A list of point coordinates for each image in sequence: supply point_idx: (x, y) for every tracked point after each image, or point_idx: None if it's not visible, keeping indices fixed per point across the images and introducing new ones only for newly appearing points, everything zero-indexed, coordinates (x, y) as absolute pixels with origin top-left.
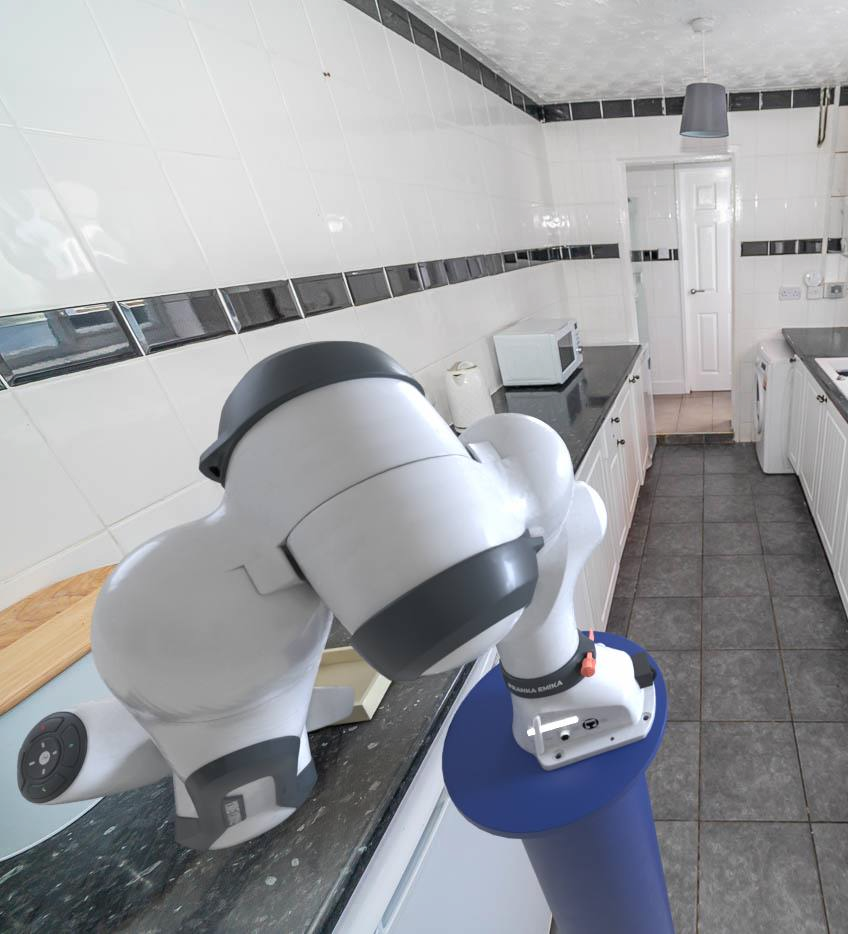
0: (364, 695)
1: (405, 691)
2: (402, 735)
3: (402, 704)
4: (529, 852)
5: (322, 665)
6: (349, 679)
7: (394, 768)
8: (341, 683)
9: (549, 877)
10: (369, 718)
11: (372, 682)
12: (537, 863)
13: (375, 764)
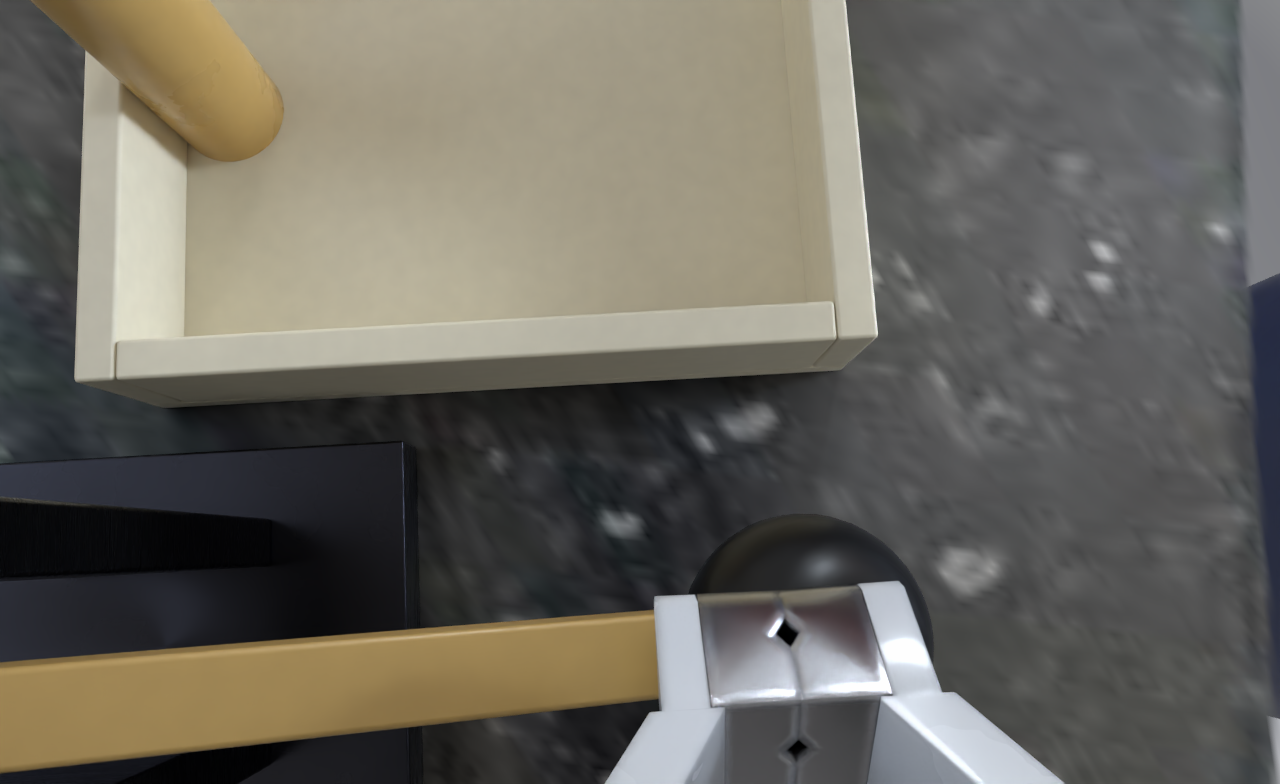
0: (844, 250)
1: (964, 164)
2: (1140, 516)
3: (1002, 269)
4: (1272, 689)
5: None
6: (504, 27)
7: (1223, 760)
8: (464, 55)
9: (1273, 714)
10: (841, 367)
11: (837, 131)
12: (1275, 704)
13: (1073, 716)
